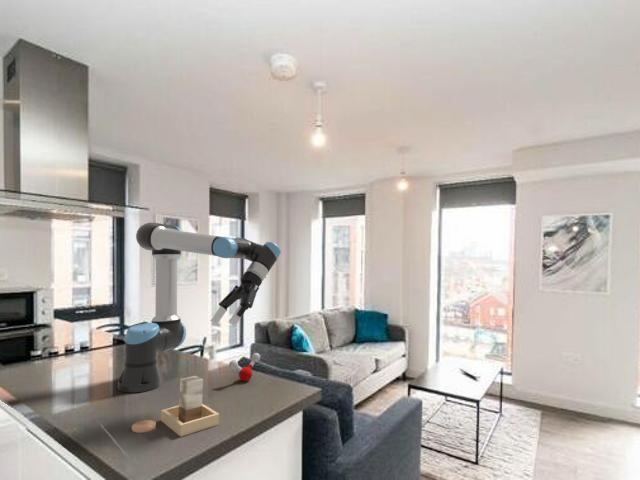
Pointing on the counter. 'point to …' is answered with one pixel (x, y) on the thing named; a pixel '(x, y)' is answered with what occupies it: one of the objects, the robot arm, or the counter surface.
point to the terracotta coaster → (143, 426)
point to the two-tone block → (190, 399)
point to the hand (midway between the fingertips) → (222, 323)
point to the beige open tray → (182, 429)
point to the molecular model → (245, 372)
